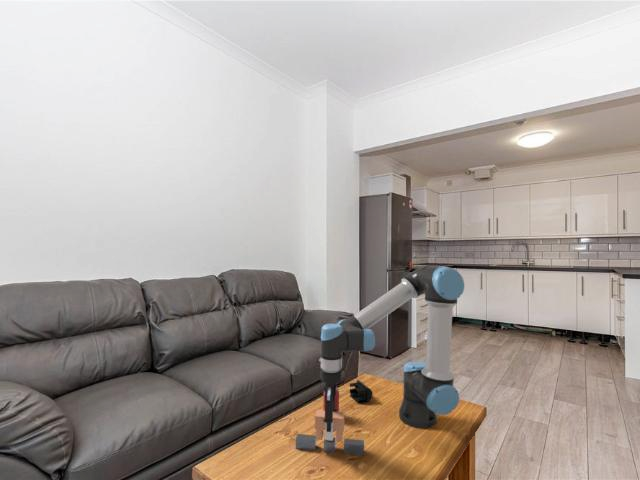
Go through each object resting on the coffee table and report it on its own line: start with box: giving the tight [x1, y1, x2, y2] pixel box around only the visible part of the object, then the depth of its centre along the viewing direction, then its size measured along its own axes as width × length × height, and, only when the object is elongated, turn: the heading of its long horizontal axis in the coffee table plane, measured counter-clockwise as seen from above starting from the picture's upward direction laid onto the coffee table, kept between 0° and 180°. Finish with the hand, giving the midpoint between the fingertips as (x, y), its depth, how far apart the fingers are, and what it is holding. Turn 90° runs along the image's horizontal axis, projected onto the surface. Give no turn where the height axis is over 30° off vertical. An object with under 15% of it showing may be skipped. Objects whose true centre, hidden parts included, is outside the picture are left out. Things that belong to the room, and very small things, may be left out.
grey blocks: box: [295, 433, 365, 457], centre depth 116 cm, size 24×3×4 cm, turn 82°
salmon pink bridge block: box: [314, 409, 346, 443], centre depth 116 cm, size 10×4×8 cm, turn 82°
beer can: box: [322, 387, 340, 412], centre depth 138 cm, size 7×7×12 cm
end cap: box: [349, 380, 373, 405], centre depth 155 cm, size 10×7×7 cm
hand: (329, 435), depth 116 cm, fingers closed on salmon pink bridge block, 4 cm apart
